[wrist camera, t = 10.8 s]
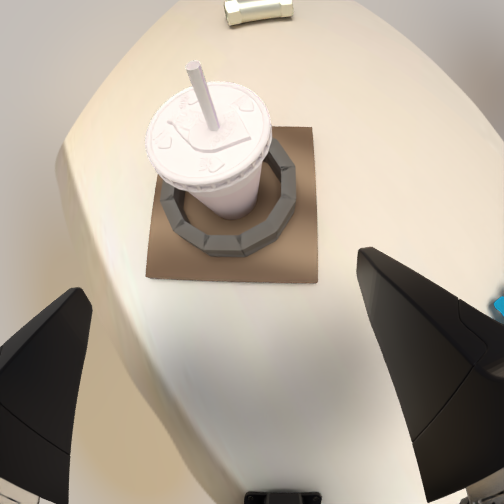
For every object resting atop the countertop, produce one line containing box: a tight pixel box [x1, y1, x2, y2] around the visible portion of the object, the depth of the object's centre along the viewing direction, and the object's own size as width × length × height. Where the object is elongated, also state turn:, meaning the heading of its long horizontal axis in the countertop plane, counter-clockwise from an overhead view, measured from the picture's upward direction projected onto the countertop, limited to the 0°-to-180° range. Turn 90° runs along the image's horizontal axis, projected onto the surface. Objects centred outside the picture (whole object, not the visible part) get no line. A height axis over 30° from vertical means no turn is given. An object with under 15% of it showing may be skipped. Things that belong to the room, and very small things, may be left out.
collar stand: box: [146, 127, 318, 283], centre depth 22 cm, size 13×13×4 cm
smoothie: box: [145, 60, 272, 220], centre depth 16 cm, size 6×6×14 cm
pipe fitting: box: [224, 0, 293, 26], centre depth 27 cm, size 8×4×7 cm
